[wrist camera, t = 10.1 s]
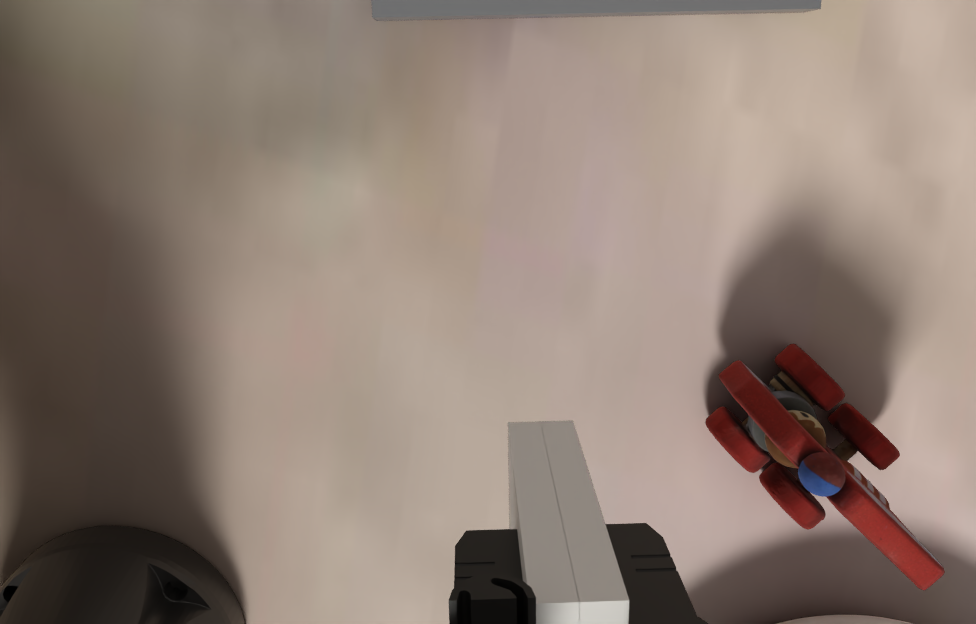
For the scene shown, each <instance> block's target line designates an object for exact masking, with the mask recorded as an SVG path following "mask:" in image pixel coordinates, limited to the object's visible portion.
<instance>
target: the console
mask: <svg viewBox="0 0 976 624" xmlns="http://www.w3.org/2000/svg"><path fill="white" fill-rule="evenodd" d="M371 1H372V18H374V19H375V20H377V21H393V20H443V19H494V18H545V17H595V16H646V15H696V14H747V13H798V12H808V11H812V10H817V9H821V0H371Z"/></svg>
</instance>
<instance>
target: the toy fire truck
mask: <svg viewBox="0 0 976 624" xmlns="http://www.w3.org/2000/svg"><path fill="white" fill-rule="evenodd" d="M775 363H776V365H777V366H778V367H779V368H780V369H781V372H780V373H779V374H777V375H774V378H773V379H772V380H771V381H770V385H769V386H767V385H766V384H765V383H763V382H762V381H761V380H760V379H759V378H758V377H757V376H756V375H755V374H754V373H753V372H752V371H751V370H750V369H749V368H748V367H747V366H746V365H745V364H744V363H743V362H742V361H739V360H737V361H735V362H733V363H732V364H731V365H730V366H728V367H727V368H726V369H725V370H723V371H722V372H721V373H720V374H719V379H720V380H721V381H722V383H723V384H724V385H725V387H726V388H727V389H728V391H729V392H730V393H731V395H732V396H733V397H734V399H735V400H736V401H737V402H738V403H739V404H740V405H741V407H742V408H743V409H744V410H745V411H746V412H747V413H748V415H749V416H748V418H746V419H745V420H744V421H743V422H741V421H740V420H739V419H738V418H737V417H736V416H735V415H734V414H733V413H732V412H731V411H730V410H729V409H727V408H726V407H719V408H718V409H717V410H715V411H714V412H713V413H712V414H711V415H710V416H709V417H708V418H707V419H706V426H707V428H708V429H709V431H710V432H711V433H712V434H713V436H714V437H715V438H716V439H717V441H718V442H719V443H720V444H721V445H722V446H723V447H724V448H725V450H726V451H727V452H728V453H729V454H730V455H731V456H732V457H733V458H734V459H735V460H736V461H737V462H738V463H739V464H740V465H741V466H742V467H743V468H745V469H746V470H747V471H749V472H752V473H754V472H756V471H758V470H759V469H761V468H762V467H763V466H764V465H765V464H766V463H767V462H769V461H770V455H769V453H770V454H771V456H772V457H773V458H774V459H775V460H776V461H777V462H779V463H781V464H782V465H784V466H787V467H791V468H798V475H799V478H798V479H797V478H796V477H795V476H794V475H793V474H792V473H790V472H789V471H788V470H787V469H786V468H785V467H784V466H782V465H781V464H779V463H777V462H776V463H772V464H771V465H770V466H769V467H768V468H767V469H766V470H764V471H763V472H762V473H761V474H760V476H759V479H760V482H761V484H762V485H763V486H764V488H765V489H766V490H767V492H768V493H769V494H770V495H771V496H772V498H773V499H774V500H775V501H776V502H777V503H778V504H779V505H780V506H781V507H782V509H783V510H784V511H785V512H786V513H787V514H788V515H789V516H791V517H792V518H793V519H794V520H795V521H796V522H797V523H798V524H799V525H800V526H802V527H803V528H805V529H811V528H813V527H814V526H816V525H817V524H818V523H819V522H820V521H821V520H823V519H824V517H825V511H824V508H823V507H822V506H821V504H820V503H819V502H818V501H817V500H816V499H815V497H814V496H813V495H812V494H815V495H818V496H826V497H827V498H828V499H829V501H830V502H831V503H832V504H833V505H834V506H835V508H836V509H837V510H838V511H839V512H840V513H841V514H842V515H843V516H844V517H845V518H846V519H848V520H849V521H850V522H851V523H852V524H853V525H854V526H855V527H856V528H857V529H858V530H859V531H860V532H861V533H862V534H863V535H864V536H865V537H866V538H867V539H868V540H870V541H871V542H872V543H873V544H874V545H875V546H876V547H877V548H878V549H879V550H880V551H881V552H882V553H883V554H884V555H885V556H886V557H887V558H888V559H889V560H890V561H891V562H892V563H893V564H894V565H896V566H897V567H898V568H899V569H900V570H901V571H902V572H903V573H904V574H905V575H906V576H907V577H908V578H909V579H910V580H911V581H912V582H913V583H914V584H915V585H916V586H917V587H918V588H919V589H922V590H926V589H927V588H928V587H930V586H931V585H932V584H933V583H934V582H936V581H937V580H938V579H939V578H940V577H941V576H942V575H943V574H944V572H945V571H944V568H943V566H942V565H941V564H940V563H939V562H938V561H937V559H936V558H935V557H934V556H933V555H932V554H931V553H930V552H929V551H928V550H927V549H926V548H925V547H924V546H923V545H922V544H921V543H920V542H919V541H918V539H917V538H916V537H915V536H914V535H913V534H912V533H911V532H910V531H909V530H908V529H907V528H906V527H905V526H904V525H903V523H902V522H901V521H900V520H899V519H898V518H897V517H896V515H895V514H894V513H893V512H892V511H891V510H890V508H889V503H888V501H887V499H886V498H885V497H884V496H883V495H882V494H881V493H880V492H879V491H878V490H877V489H876V488H875V487H874V486H873V485H872V484H871V483H870V481H869V480H867V479H866V478H865V477H864V476H863V475H862V474H861V473H860V472H859V471H858V470H857V469H856V468H855V467H854V466H853V465H852V464H850V463H849V462H847V460H848V459H849V458H851V457H852V456H853V455H854V454H855V453H856V452H857V451H859V452H860V453H861V454H862V455H863V456H864V457H865V458H866V459H867V460H868V461H869V462H871V463H872V464H873V465H874V466H875V467H877V468H878V469H879V470H884V469H886V468H887V467H888V466H889V465H890V464H892V463H893V462H894V461H895V460H896V459H897V458H898V457H899V456H900V454H899V451H898V450H897V448H896V447H895V446H894V445H893V444H892V443H891V442H890V441H889V440H888V439H887V438H886V437H885V436H884V435H883V434H882V433H881V432H880V431H879V430H878V429H877V428H876V427H875V426H874V425H872V424H871V423H870V422H869V421H868V420H867V419H866V418H865V417H864V416H863V415H862V414H861V413H859V412H858V411H857V410H856V409H855V408H854V407H853V406H851V405H849V404H847V403H845V404H842V405H841V406H840V407H839V408H838V409H837V410H835V411H834V412H833V413H832V414H831V415H830V416H829V417H828V420H829V422H830V423H831V424H832V425H833V426H834V427H835V428H836V429H837V430H838V431H839V432H840V433H841V434H842V435H843V436H844V437H845V440H844V441H843V442H842V443H840V444H839V445H838V446H837V447H836V448H835V449H831V448H830V447H829V446H828V445H827V444H826V435H825V431H824V429H823V427H822V426H821V424H820V423H819V422H818V421H817V417H816V413H815V411H814V410H813V408H812V406H813V405H814V404H815V405H817V406H818V407H819V408H821V409H823V410H825V411H828V410H831V409H832V408H833V407H834V406H836V405H837V404H838V403H839V402H840V401H842V400H843V398H844V397H845V393H844V391H843V390H842V389H841V387H840V386H839V385H838V384H837V383H836V382H835V381H834V380H833V379H832V378H831V377H830V376H829V375H828V374H827V373H826V372H825V371H824V370H823V369H822V368H821V367H820V366H819V365H818V364H817V363H816V362H815V361H814V360H813V359H812V358H811V357H810V356H809V355H807V354H806V353H805V352H804V351H803V350H802V349H801V348H799V347H798V346H797V345H796V344H790V345H789V346H787V347H786V348H785V349H784V350H783V351H782V352H781V353H779V354H778V355H777V356H776V358H775ZM768 452H769V453H768ZM810 492H811V493H812V494H811V493H810Z"/></svg>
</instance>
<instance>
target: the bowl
mask: <svg viewBox="0 0 976 624" xmlns="http://www.w3.org/2000/svg"><path fill="white" fill-rule="evenodd" d="M776 624H913V623H909V622H904V621H900V620H895V619H889V618H884V617H876V616H866V615H825V616H814V617H806V618H800V619H794V620H789V621H785V622H781V623H776Z"/></svg>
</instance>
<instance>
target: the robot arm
mask: <svg viewBox="0 0 976 624" xmlns="http://www.w3.org/2000/svg"><path fill="white" fill-rule="evenodd" d="M508 465H509V528H510V529H504V530H472V531H466V532H465V533H464V535H463V536H462V537H461V539H460V540H459V542H458V543H457V544H456V546H455V581H454V589H453V590H452V593H451V596H450V598H449V620H450V624H708V623H707V622H705V621H704V620H702V619H701V618H699V617H697V615H696V613H695V610H694V608H693V606H692V604H691V601H690V599H689V597H688V594H687V592H686V590H685V587H684V585H683V583H682V580H681V578H680V576H679V573H678V571H676V566H675V564H674V562H673V560H672V557H670V553H669V550H668V548H667V546H666V543H665V541H664V539H663V537H662V536H661V535H659V534H658V533H657V532H656V531H655V530H654V529H652V528H651V527H650V526H649V525H648V524H647V523H634V524H605V521H604V518H603V515H602V512H601V509H600V505H599V502H598V499H597V496H596V493H595V489H594V486H593V483H592V480H591V477H590V473H589V470H588V467H587V464H586V461H585V458H584V454H583V451H582V448H581V445H580V442H579V438H578V435H577V432H576V429H575V426H574V423H573V421H542V422H508ZM0 624H245V623H244V618H243V614H242V611H241V608H240V605H239V603H238V601H237V598H236V597H235V595H234V593H233V591H232V589H231V588H230V586H229V585H228V583H227V582H226V581H225V579H224V578H223V577H222V576H221V574H220V573H219V572H218V571H217V570H216V569H215V568H214V567H213V566H212V565H211V564H210V563H209V562H208V561H206V560H205V559H204V558H203V557H201V556H200V555H199V554H197V553H196V552H195V551H193V550H191V549H190V548H188V547H187V546H185V545H183V544H181V543H179V542H177V541H175V540H173V539H171V538H168V537H166V536H163V535H160V534H157V533H154V532H151V531H147V530H142V529H137V528H131V527H121V526H102V527H92V528H86V529H81V530H77V531H73V532H70V533H67V534H64V535H62V536H59V537H57V538H55V539H53V540H51V541H49V542H47V543H46V544H44V545H43V546H41V547H40V548H38V549H37V550H36V551H34V552H33V553H32V554H31V555H30V556H29V557H28V558H27V559H26V560H25V561H24V562H23V563H22V564H21V565H20V566H19V567H18V568H17V570H16V571H15V572H14V573H13V574H12V575H11V576H10V577H9V578H8V579H7V580H6V582H5V583H4V584H3V585H2V587H1V588H0Z"/></svg>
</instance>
